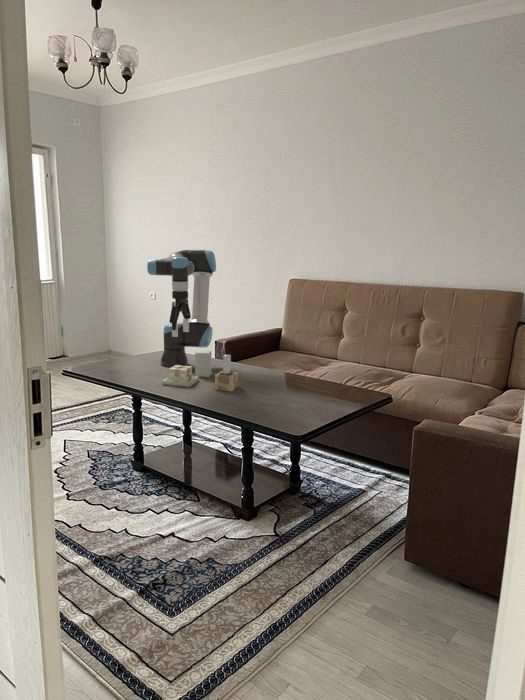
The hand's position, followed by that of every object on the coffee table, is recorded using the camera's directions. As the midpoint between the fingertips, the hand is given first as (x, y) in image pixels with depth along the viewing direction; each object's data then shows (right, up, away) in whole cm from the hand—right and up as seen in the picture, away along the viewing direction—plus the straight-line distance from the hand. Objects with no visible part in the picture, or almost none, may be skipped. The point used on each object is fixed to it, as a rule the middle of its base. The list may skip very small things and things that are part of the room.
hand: (180, 334), depth 262 cm
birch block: (-1, -23, +4) cm, 23 cm away
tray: (-1, -24, +4) cm, 24 cm away
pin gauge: (+22, -26, -3) cm, 34 cm away
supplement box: (+9, -21, +20) cm, 30 cm away
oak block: (+22, -26, -3) cm, 34 cm away
